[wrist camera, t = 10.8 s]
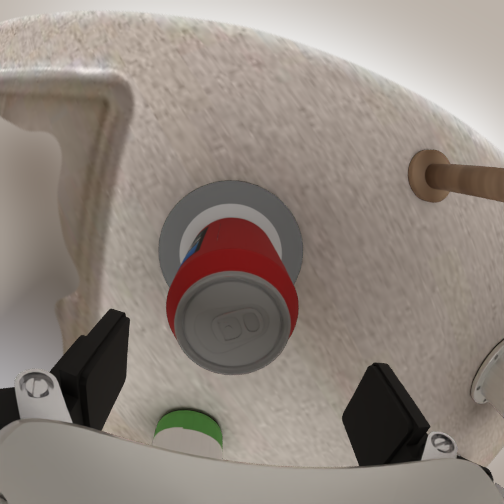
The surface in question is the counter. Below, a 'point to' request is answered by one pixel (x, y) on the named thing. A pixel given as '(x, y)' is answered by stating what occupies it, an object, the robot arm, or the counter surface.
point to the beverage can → (232, 299)
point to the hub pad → (229, 206)
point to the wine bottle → (189, 434)
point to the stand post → (452, 178)
